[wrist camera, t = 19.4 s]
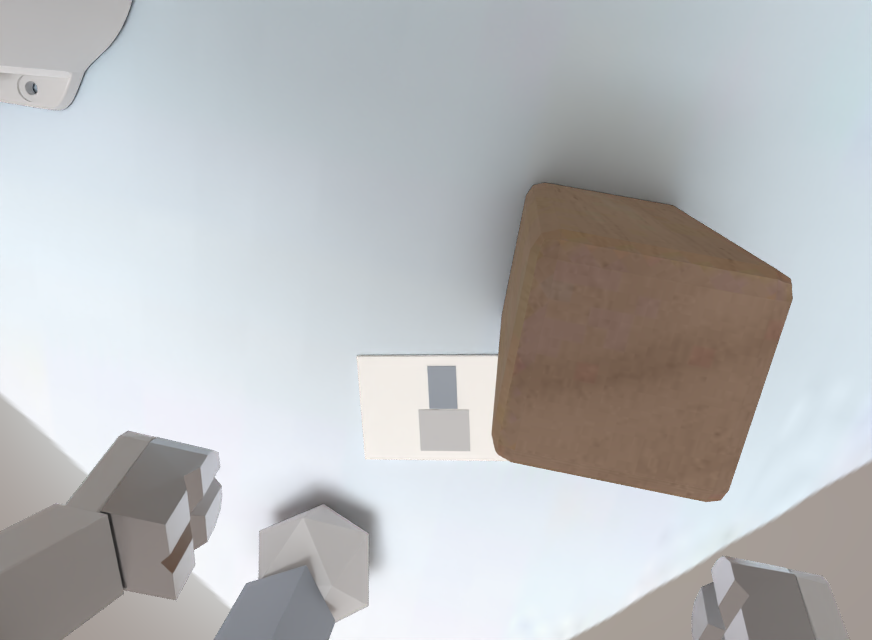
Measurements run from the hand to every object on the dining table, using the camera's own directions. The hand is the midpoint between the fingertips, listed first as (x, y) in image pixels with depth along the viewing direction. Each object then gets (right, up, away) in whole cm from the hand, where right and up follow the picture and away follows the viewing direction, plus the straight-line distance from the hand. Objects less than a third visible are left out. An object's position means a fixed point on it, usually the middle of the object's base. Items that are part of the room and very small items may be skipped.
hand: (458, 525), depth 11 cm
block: (+10, +7, +35) cm, 37 cm away
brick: (-10, -16, +36) cm, 40 cm away
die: (-9, -13, +43) cm, 46 cm away
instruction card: (0, -3, +39) cm, 39 cm away
